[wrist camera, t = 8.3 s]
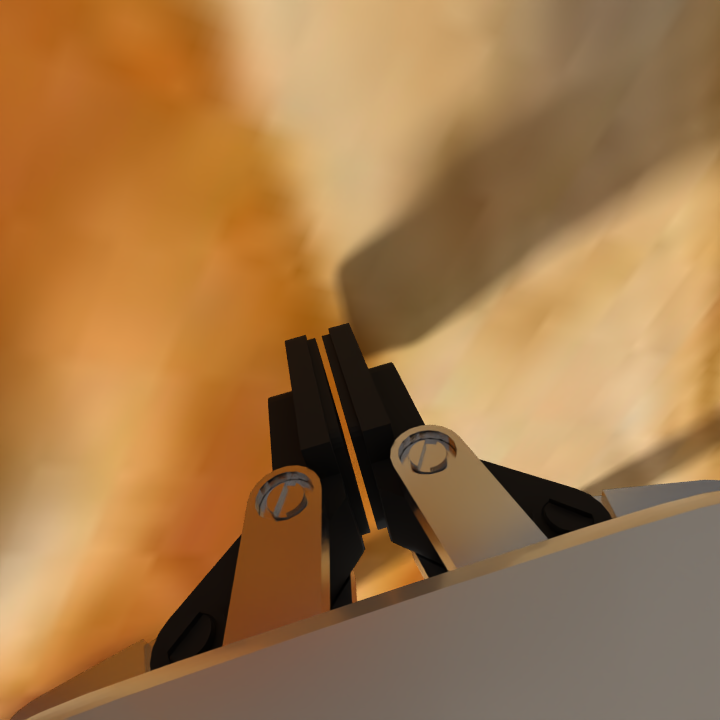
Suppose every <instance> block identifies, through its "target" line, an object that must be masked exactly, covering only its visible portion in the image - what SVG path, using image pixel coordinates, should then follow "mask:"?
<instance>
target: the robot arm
mask: <svg viewBox="0 0 720 720" xmlns="http://www.w3.org/2000/svg"><path fill="white" fill-rule="evenodd" d="M328 330H329V334H328V335H324V336H322V339H323V342H324V346H325V349H326V353H327V356H328V360H329V363H330V367H331V370H332V374H333V377H334V381H335V384H336V388H337V391H338V395H339V398H340V402H341V405H342V409H343V412H344V415H345V419H346V422H347V426H348V429H349V433H350V436H351V440H352V443H353V446H354V450H355V453H356V457H357V460H358V464H359V467H360V470H361V474H362V477H363V481H364V484H365V487H366V491H367V494H368V498H369V501H370V505H371V508H372V511H373V515H374V518H375V522H376V525H377V529H378V530H379V529H383V528H386V527H387V529H388V533H389V536H390V539H391V541H393V543H396V544H398V545H400V546H402V547H404V548H407V549H409V550H411V552H412V555H413V558H414V561H415V562H416V564H417V566H418V568H419V570H420V572H421V574H422V575H423V577H424V580H421V581H418V582H415V583H412V584H409V585H406V586H403V587H400V588H397V589H394V590H391V591H388V592H385V593H382V594H379V595H376V596H373V597H370V598H367V599H364V600H361V601H358V602H357V595H356V579H355V575H354V570H353V568H354V567H355V565H356V564H357V562H358V560H359V559H360V557H361V555H362V554H363V552H364V550H365V547H364V543H363V539H362V535H364V534H367V533H370V529H369V525H368V521H367V518H366V514H365V511H364V507H363V503H362V500H361V496H360V492H359V489H358V485H357V481H356V478H355V474H354V470H353V467H352V463H351V459H350V456H349V452H348V449H347V445H346V441H345V438H344V434H343V430H342V427H341V423H340V420H339V416H338V413H337V410H336V406H335V403H334V399H333V396H332V393H331V389H330V386H329V383H328V379H327V376H326V373H325V369H324V366H323V362H322V359H321V356H320V352H319V349H318V346H317V342H316V339H315V338H314V339H310V340H307V337H306V335H304V336H300V337H297V338H293V339H290V340H286V341H285V346H286V353H287V360H288V366H289V373H290V380H291V387H292V391H290V392H287V393H284V394H280V395H277V396H273V397H270V398H269V399H268V409H269V424H270V438H271V453H272V468H273V471H272V472H271V473H269V474H267V475H266V476H264V477H263V478H262V479H261V480H260V481H259V482H258V483H257V484H256V485H255V487H254V488H253V490H252V491H251V493H250V496H249V499H248V501H247V507H246V513H245V518H244V524H243V530H242V534H241V535H240V537H239V538H238V539H237V540H236V541H235V542H234V544H233V545H232V546H231V547H230V548H229V549H228V551H227V552H226V553H225V554H224V555H223V557H222V558H221V559H220V560H219V561H218V562H217V564H216V565H215V566H214V567H213V568H212V569H211V571H210V572H209V573H208V574H207V575H206V576H205V578H204V579H203V580H202V581H201V582H200V583H199V585H198V586H197V587H196V588H195V589H194V590H193V592H192V593H191V594H190V595H189V596H188V597H187V599H186V600H185V601H184V602H183V603H182V605H181V606H180V607H179V608H178V609H177V610H176V612H175V613H174V614H173V615H172V616H171V617H170V619H169V620H168V621H167V623H166V624H165V625H164V627H163V628H162V630H161V631H160V633H159V634H158V637H157V638H156V639H154V640H152V641H151V642H149V643H147V642H146V641H145V640H144V639H142V640H140V641H138V642H136V643H135V644H133V645H131V646H129V647H128V648H126V649H124V650H122V651H120V652H119V653H117V654H115V655H113V656H111V657H110V658H108V659H106V660H104V661H102V662H101V663H99V664H97V665H95V666H93V667H92V668H90V669H88V670H86V671H85V672H83V673H81V674H79V675H77V676H76V677H74V678H72V679H70V680H68V681H67V682H65V683H63V684H61V685H59V686H58V687H56V688H54V689H52V690H51V691H49V692H47V693H45V694H43V695H42V696H40V697H38V698H36V699H34V700H33V701H31V702H30V703H29V704H27V705H26V706H25V707H23V708H22V709H20V710H19V711H18V712H17V713H16V714H15V715H14V716H13V717H12V718H11V719H10V720H720V480H699V481H689V482H679V483H668V484H658V485H648V486H638V487H628V488H618V489H608V490H603V492H602V496H594V497H592V496H591V495H589V494H587V493H585V492H583V491H580V490H578V489H575V488H572V487H569V486H565V485H562V484H559V483H556V482H552V481H549V480H546V479H542V478H539V477H536V476H533V475H529V474H526V473H523V472H519V471H516V470H513V469H509V468H506V467H503V466H500V465H496V464H493V463H490V462H486V461H483V460H480V459H478V457H477V456H476V455H475V454H474V453H473V452H472V450H471V449H470V448H469V447H468V446H467V445H466V443H465V442H464V441H463V440H462V439H461V438H460V437H459V436H458V435H457V434H456V433H455V432H453V431H452V430H450V429H447V428H445V427H442V426H436V425H425V424H424V422H423V420H422V418H421V416H420V414H419V412H418V411H417V409H416V407H415V405H414V403H413V401H412V399H411V397H410V395H409V393H408V391H407V389H406V387H405V385H404V383H403V382H402V380H401V378H400V376H399V374H398V372H397V370H396V368H395V366H394V364H393V363H392V362H390V363H387V364H383V365H380V366H377V367H373V368H370V369H368V367H367V365H366V363H365V360H364V358H363V356H362V353H361V351H360V348H359V346H358V344H357V341H356V339H355V336H354V334H353V332H352V329H351V327H350V325H349V323H346V324H343V325H339V326H336V327H332V328H329V329H328Z"/></svg>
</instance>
